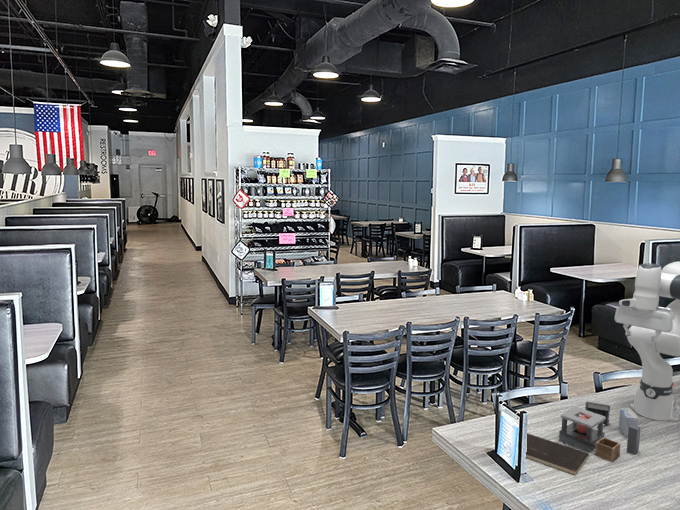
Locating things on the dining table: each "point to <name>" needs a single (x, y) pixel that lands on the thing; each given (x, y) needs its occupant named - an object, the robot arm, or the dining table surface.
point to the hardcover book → (555, 454)
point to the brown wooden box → (607, 449)
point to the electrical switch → (598, 409)
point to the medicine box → (627, 420)
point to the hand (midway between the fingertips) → (640, 338)
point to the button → (582, 428)
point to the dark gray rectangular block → (633, 439)
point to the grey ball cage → (576, 438)
